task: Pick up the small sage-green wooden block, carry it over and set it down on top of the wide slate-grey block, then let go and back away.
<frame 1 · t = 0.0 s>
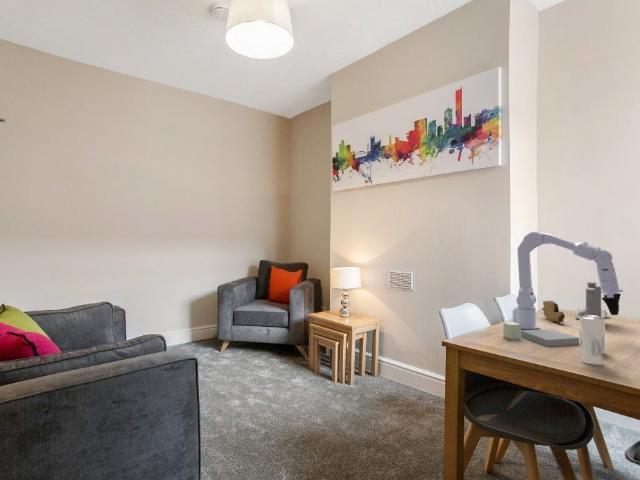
hand: (615, 313, 146), 11 cm above the table, tool pointing down, fingers open, 7 cm apart
pepper shaker: (596, 353, 130), on the table
sage block: (512, 337, 150), on the table
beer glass: (592, 362, 121), on the table
seahorse: (590, 318, 184), on the table
slate block: (549, 341, 146), on the table
wooden carving: (552, 321, 178), on the table
hip flask: (592, 325, 170), on the table
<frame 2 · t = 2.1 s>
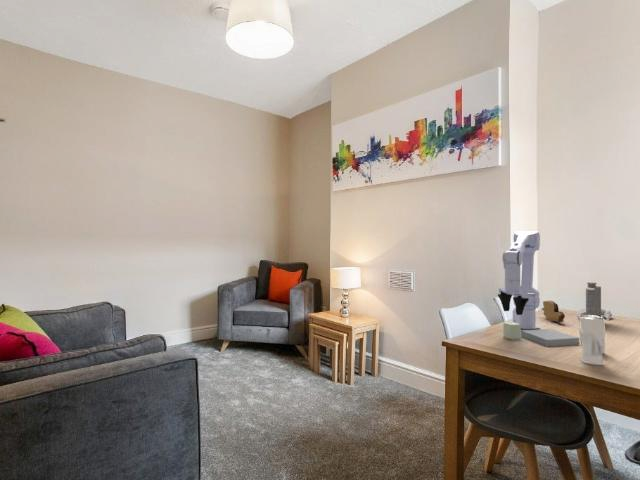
hand: (512, 312, 150), 10 cm above the table, tool pointing down, fingers open, 7 cm apart
seahorse: (593, 319, 182), on the table
everything else where it was.
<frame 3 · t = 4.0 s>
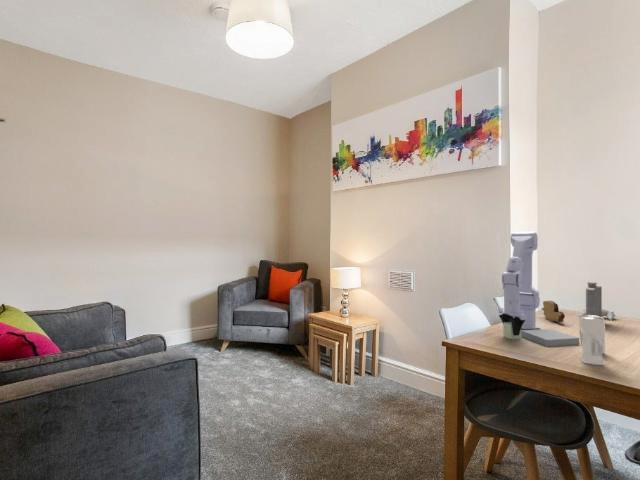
hand: (511, 333, 150), 2 cm above the table, tool pointing down, fingers closed on sage block, 4 cm apart
sage block: (512, 337, 150), on the table, touching gripper
seahorse: (596, 320, 181), on the table
everything else where it was.
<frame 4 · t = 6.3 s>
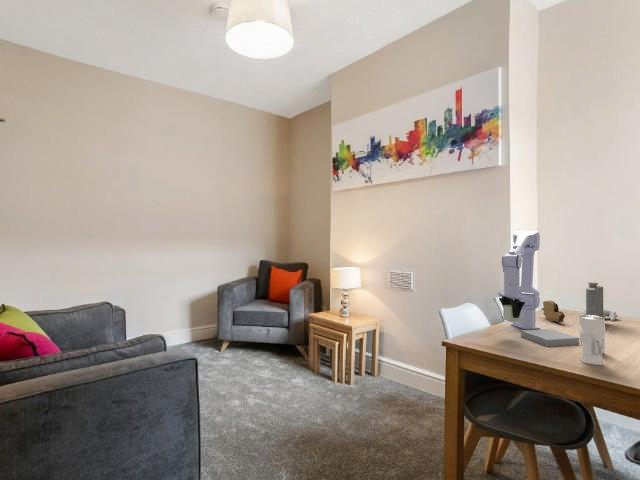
hand: (511, 316, 150), 9 cm above the table, tool pointing down, fingers closed on sage block, 4 cm apart
sage block: (511, 320, 150), point 7 cm above the table, touching gripper
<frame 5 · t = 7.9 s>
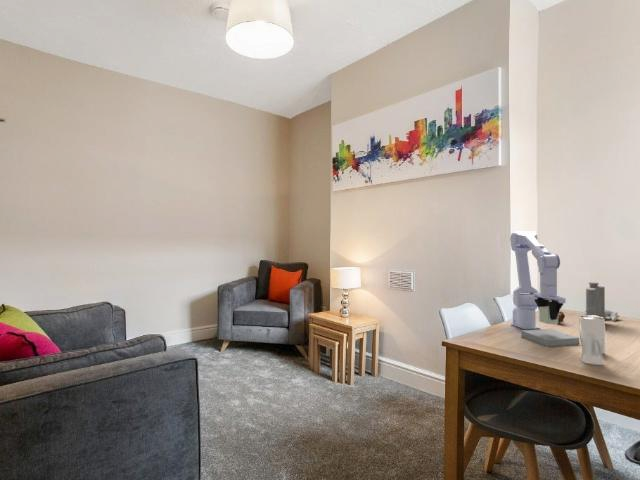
hand: (548, 318, 146), 9 cm above the table, tool pointing down, fingers closed on sage block, 4 cm apart
sage block: (548, 322, 146), point 7 cm above the table, touching gripper
when the fingers open (6 cm above the table, at t = 9.0 s): sage block drops 2 cm, point 2 cm above the table.
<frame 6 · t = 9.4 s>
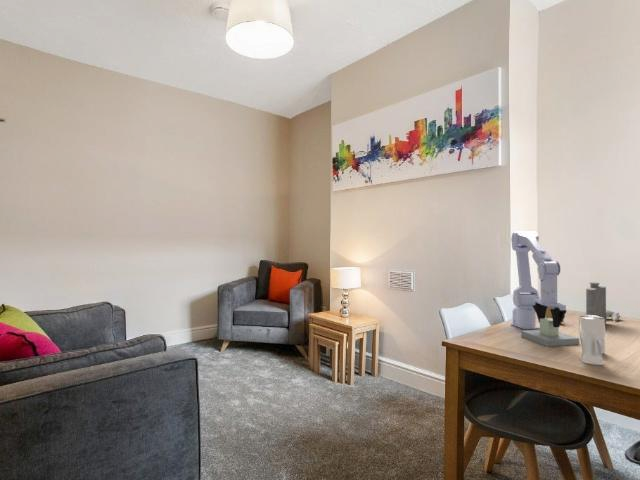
hand: (548, 324, 146), 6 cm above the table, tool pointing down, fingers open, 7 cm apart
sage block: (549, 334, 146), point 2 cm above the table
seahorse: (599, 321, 178), on the table, touching hip flask
hip flask: (595, 325, 169), on the table, touching seahorse
everything else where it was.
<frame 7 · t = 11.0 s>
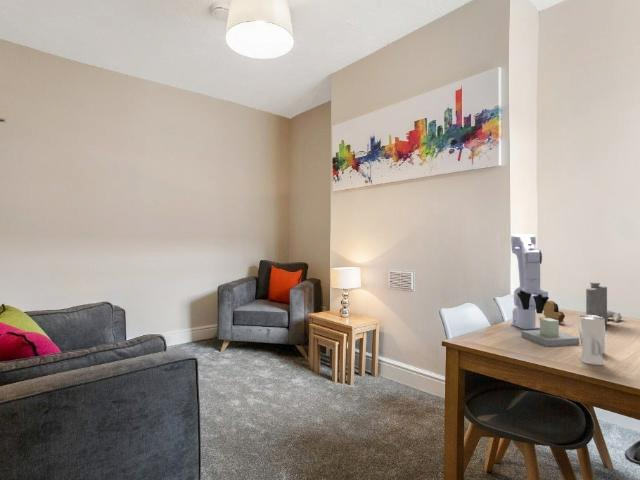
hand: (532, 311, 152), 10 cm above the table, tool pointing down, fingers open, 7 cm apart
sage block: (549, 334, 146), point 2 cm above the table, touching slate block
seahorse: (600, 321, 178), on the table
slate block: (549, 341, 146), on the table, touching sage block
hip flask: (595, 325, 169), on the table
everything else where it was.
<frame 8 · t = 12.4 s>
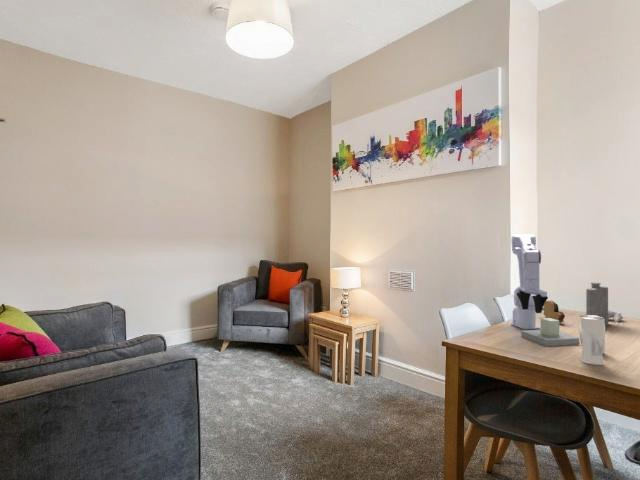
hand: (531, 311, 153), 10 cm above the table, tool pointing down, fingers open, 7 cm apart
sage block: (549, 334, 146), point 2 cm above the table
slate block: (548, 341, 146), on the table
at the end: sage block inside the target area on the slate block (0.4 cm from its centre), point 3.0 cm above the slate block's base; sage block tilted 0°; the gripper is holding nothing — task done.
